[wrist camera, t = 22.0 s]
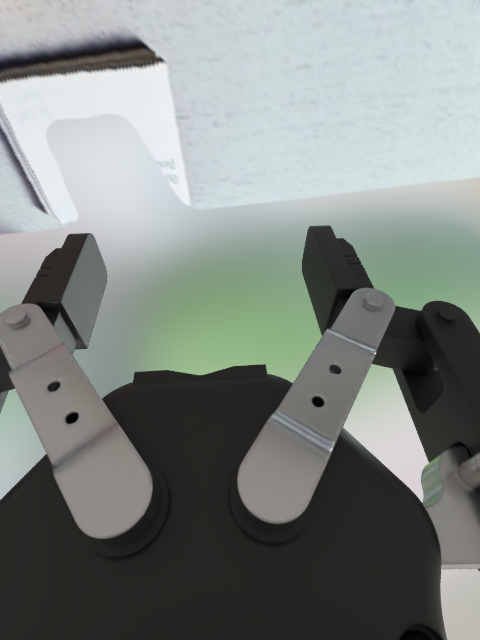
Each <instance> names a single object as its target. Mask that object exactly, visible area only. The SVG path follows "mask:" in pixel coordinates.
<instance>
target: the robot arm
mask: <svg viewBox="0 0 480 640" xmlns="http://www.w3.org/2000/svg"><path fill="white" fill-rule="evenodd" d="M40 268H41V269H40V270H39V271H38V273H37V275H36V276H37V277H36V278H35V279H34V281H33V282H32V285H31V286H30V288H29V290H28V292H27V294H26V296H25V298H24V300H23V302H22V303H21V304H19V305H16V306H13V307H10V308H8V309H7V310H5V311H3V312H2V313H1V314H0V413H1V410H2V407H3V405H4V402H5V399H6V397H7V394H8V391H9V390H12V389H16V391H17V393H18V395H19V397H20V399H21V401H22V403H23V405H24V408H25V410H26V412H27V414H28V416H29V418H30V420H31V422H32V424H33V426H34V428H35V430H36V432H37V434H38V436H39V439H40V441H41V443H42V445H43V447H44V449H45V451H46V453H47V454H46V455H45V456H44V457H43V458H42V459H41V460H40V461H39V462H38V463H37V464H36V465H35V466H34V467H33V468H32V469H31V470H30V471H29V472H28V473H27V474H26V475H25V476H24V477H23V478H22V479H21V480H20V481H19V482H18V483H17V484H16V485H15V486H14V487H13V488H12V489H11V490H10V491H9V492H8V493H7V494H6V495H5V496H4V497H3V498H2V499H1V500H0V640H447V637H446V633H445V628H444V622H443V616H442V608H441V596H440V579H441V569H478V570H479V571H480V333H479V331H478V330H477V328H476V327H475V325H474V324H473V322H472V321H471V319H470V317H469V316H468V315H467V314H466V313H465V312H464V311H463V310H462V309H461V308H459V307H457V306H455V305H453V304H451V303H448V302H443V301H432V302H429V303H427V304H426V305H425V306H424V307H423V309H422V310H421V311H418V310H413V309H407V308H403V307H398V306H395V304H394V302H393V300H392V299H391V298H390V297H389V296H388V295H387V294H385V293H384V292H382V291H380V290H377V289H374V287H373V285H372V283H371V281H370V279H369V278H368V275H367V273H366V271H365V269H364V267H363V265H361V262H360V260H359V258H358V257H357V254H356V252H355V250H354V248H353V246H352V245H351V244H349V243H348V242H347V241H346V240H344V239H343V238H338V239H336V237H335V234H334V232H333V230H332V228H331V226H310V227H309V229H308V232H307V237H306V243H305V248H304V253H303V259H302V273H303V277H304V280H305V283H306V286H307V289H308V293H309V296H310V299H311V302H312V305H313V309H314V312H315V315H316V318H317V321H318V325H319V328H320V331H321V334H322V338H321V339H320V341H319V343H318V344H317V346H316V347H315V349H314V350H313V352H312V354H311V355H310V357H309V359H308V360H307V362H306V364H305V365H304V367H303V368H302V370H301V372H300V373H299V375H298V377H297V378H296V380H295V381H294V383H291V382H289V381H288V380H286V379H283V378H281V377H277V376H274V375H270V374H267V371H266V365H248V366H233V367H230V368H226V369H223V370H220V371H216V372H212V373H209V374H205V375H193V374H187V373H181V372H175V371H169V370H162V371H146V372H135V374H134V380H133V383H129V384H126V385H124V386H122V387H119V388H118V389H116V390H114V391H112V392H111V393H109V394H108V395H106V396H105V397H104V398H102V399H101V397H100V396H99V394H98V393H97V391H96V390H95V388H94V387H93V385H92V384H91V382H90V381H89V379H88V378H87V376H86V375H85V373H84V372H83V370H82V369H81V367H80V366H79V364H78V363H77V361H76V360H75V358H74V357H73V353H74V350H75V349H87V348H88V344H89V341H90V338H91V334H92V331H93V328H94V324H95V321H96V317H97V314H98V311H99V307H100V304H101V300H102V297H103V294H104V290H105V287H106V283H107V270H106V267H105V264H104V261H103V259H102V256H101V253H100V251H99V248H98V246H97V243H96V240H95V238H94V236H93V235H92V234H91V233H84V234H69V235H68V236H67V238H66V240H65V242H64V244H63V246H62V248H56V249H55V250H54V251H52V252H51V253H50V254H49V255H48V256H47V257H46V258H45V260H44V262H43V263H42V265H41V267H40ZM371 364H375V365H380V366H384V367H388V368H393V371H394V373H395V376H396V379H397V381H398V384H399V386H400V389H401V391H402V394H403V396H404V399H405V402H406V404H407V407H408V410H409V412H410V415H411V417H412V420H413V422H414V425H415V428H416V430H417V433H418V435H419V438H420V441H421V443H422V446H423V448H424V451H425V453H426V456H427V459H428V461H429V464H427V465H426V466H425V468H424V469H423V471H422V474H421V483H422V488H423V494H424V499H423V503H422V502H421V501H420V500H419V498H418V497H417V496H416V495H415V494H414V493H413V492H412V491H411V490H410V488H408V487H407V486H406V485H405V484H404V483H403V482H402V481H401V480H400V479H399V478H398V477H396V476H395V475H394V474H393V473H392V472H391V471H390V470H389V469H388V468H387V467H386V466H384V465H383V464H382V463H381V462H380V461H379V460H378V459H377V458H376V457H375V456H374V455H373V454H371V453H370V452H369V451H368V450H367V449H366V448H365V447H364V446H363V445H362V444H360V443H359V442H358V441H357V440H356V439H355V438H354V437H353V436H352V435H351V434H350V433H349V432H347V431H346V430H345V429H344V428H343V425H344V423H345V421H346V419H347V416H348V414H349V412H350V410H351V408H352V406H353V403H354V401H355V399H356V397H357V395H358V392H359V390H360V388H361V386H362V384H363V381H364V379H365V377H366V375H367V373H368V370H369V368H370V366H371Z"/></svg>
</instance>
